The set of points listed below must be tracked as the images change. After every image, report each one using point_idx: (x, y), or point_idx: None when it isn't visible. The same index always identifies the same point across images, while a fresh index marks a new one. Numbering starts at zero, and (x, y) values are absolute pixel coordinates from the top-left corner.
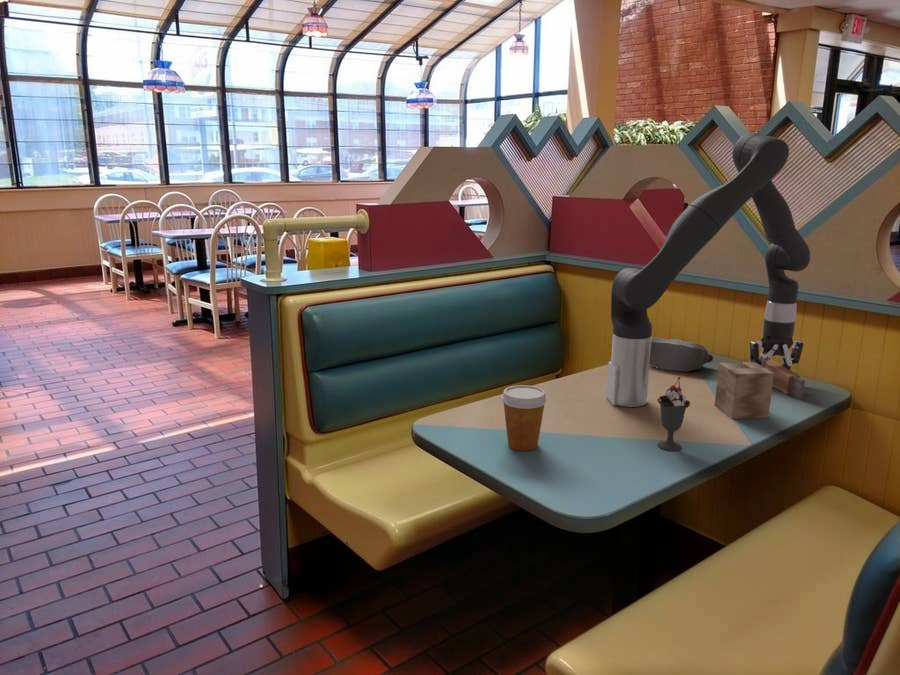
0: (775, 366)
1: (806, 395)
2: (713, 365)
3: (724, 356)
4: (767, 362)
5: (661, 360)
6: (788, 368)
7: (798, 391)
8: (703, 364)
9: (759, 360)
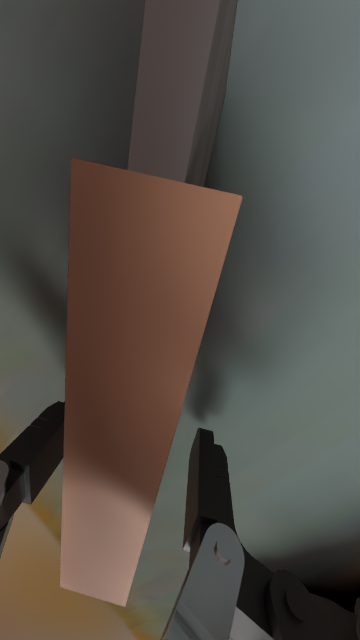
0: (126, 490)
1: None
2: None
3: None
4: (120, 554)
5: None
6: (25, 445)
7: (225, 63)
8: None
9: (240, 621)
